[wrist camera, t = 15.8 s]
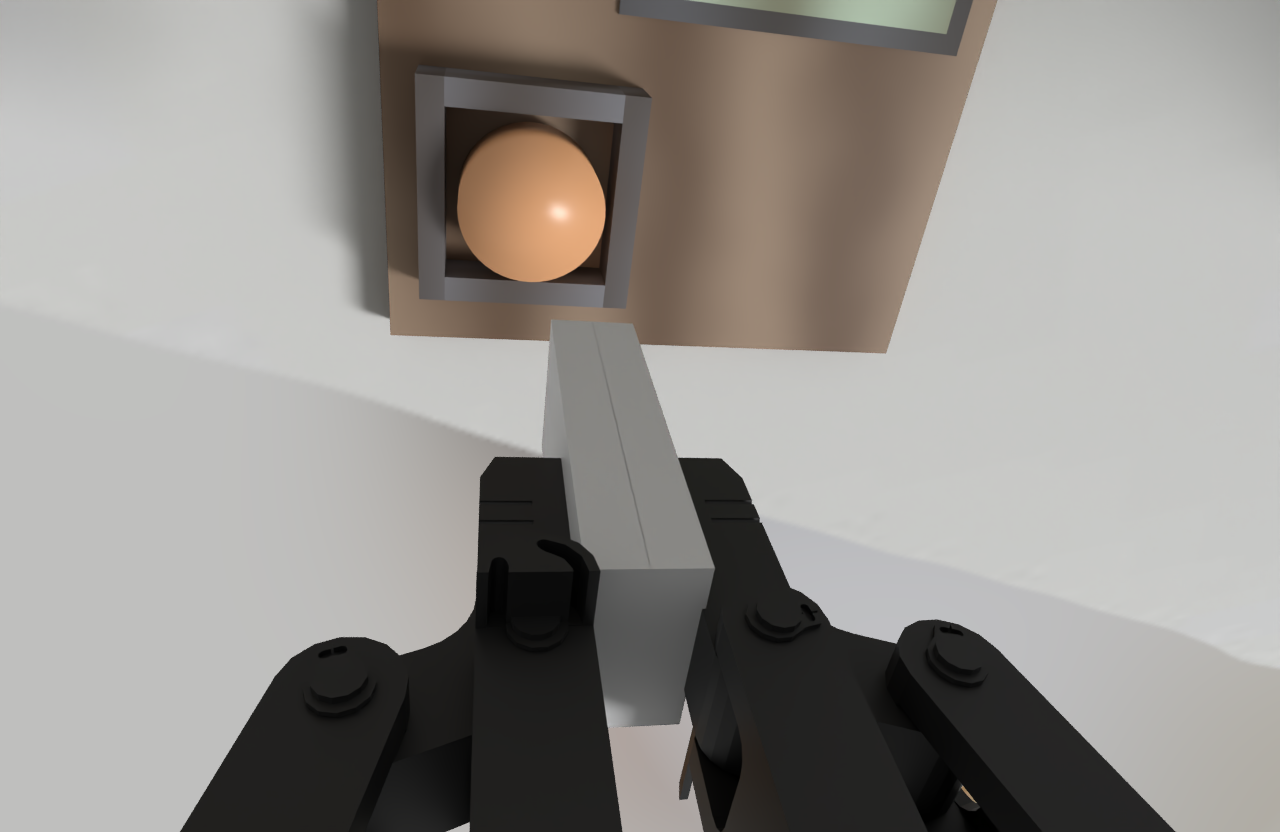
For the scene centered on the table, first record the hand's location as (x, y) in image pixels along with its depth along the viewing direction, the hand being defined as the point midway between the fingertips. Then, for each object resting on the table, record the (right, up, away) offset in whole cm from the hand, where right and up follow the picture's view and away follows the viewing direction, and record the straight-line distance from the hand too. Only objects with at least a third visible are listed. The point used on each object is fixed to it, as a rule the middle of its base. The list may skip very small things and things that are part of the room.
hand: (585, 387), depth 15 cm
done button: (-3, +7, +10) cm, 13 cm away
